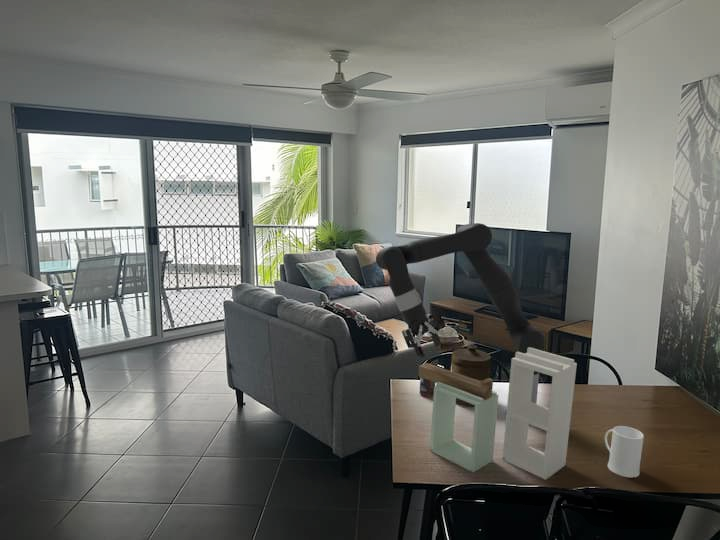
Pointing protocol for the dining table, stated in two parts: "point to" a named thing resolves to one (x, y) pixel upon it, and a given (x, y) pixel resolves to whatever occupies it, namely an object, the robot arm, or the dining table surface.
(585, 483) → the dining table surface
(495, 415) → the rest stand
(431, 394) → the supplement bottle
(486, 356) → the wooden container
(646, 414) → the dining table surface
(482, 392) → the hook bar
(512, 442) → the shelf stand
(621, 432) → the mug
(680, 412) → the dining table surface
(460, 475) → the dining table surface
